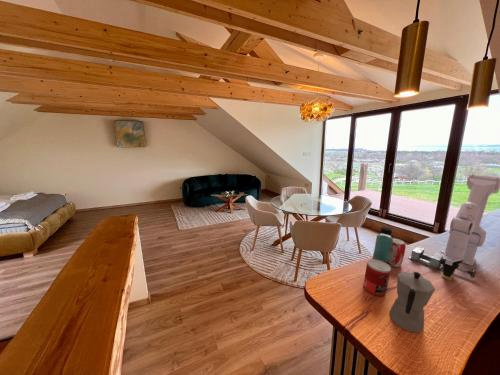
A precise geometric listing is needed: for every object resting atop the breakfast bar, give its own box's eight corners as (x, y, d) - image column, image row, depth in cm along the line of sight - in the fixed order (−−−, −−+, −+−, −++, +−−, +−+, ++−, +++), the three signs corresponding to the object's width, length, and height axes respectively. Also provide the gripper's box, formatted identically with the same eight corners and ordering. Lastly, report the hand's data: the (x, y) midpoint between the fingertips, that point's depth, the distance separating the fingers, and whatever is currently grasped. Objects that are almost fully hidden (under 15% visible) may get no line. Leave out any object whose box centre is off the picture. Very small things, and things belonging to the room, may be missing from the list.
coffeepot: (392, 302, 77) (402, 258, 73) (425, 317, 71) (438, 270, 67) (382, 328, 66) (393, 278, 62) (420, 349, 60) (436, 295, 56)
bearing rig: (408, 258, 106) (410, 250, 105) (413, 253, 110) (415, 245, 109) (439, 270, 96) (441, 261, 95) (444, 264, 101) (446, 256, 100)
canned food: (378, 299, 78) (383, 273, 75) (358, 286, 85) (362, 261, 82) (390, 293, 82) (395, 268, 79) (370, 280, 88) (375, 257, 86)
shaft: (431, 262, 100) (432, 256, 100) (433, 260, 102) (434, 255, 101) (473, 278, 89) (475, 272, 89) (474, 276, 91) (476, 270, 91)
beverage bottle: (371, 270, 95) (378, 229, 90) (370, 263, 101) (377, 224, 96) (388, 275, 92) (397, 233, 87) (386, 267, 98) (394, 227, 93)
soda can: (404, 269, 97) (409, 245, 94) (387, 267, 98) (392, 243, 95) (397, 260, 103) (402, 238, 101) (381, 258, 105) (385, 236, 102)
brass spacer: (441, 276, 92) (444, 267, 91) (444, 272, 95) (446, 263, 94) (450, 280, 90) (453, 271, 89) (453, 276, 93) (456, 267, 91)
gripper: (448, 237, 96) (440, 263, 99) (439, 246, 88) (431, 274, 91) (469, 243, 91) (461, 271, 94) (462, 254, 82) (453, 284, 85)
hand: (448, 273), depth 92 cm, fingers closed on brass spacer, 5 cm apart
